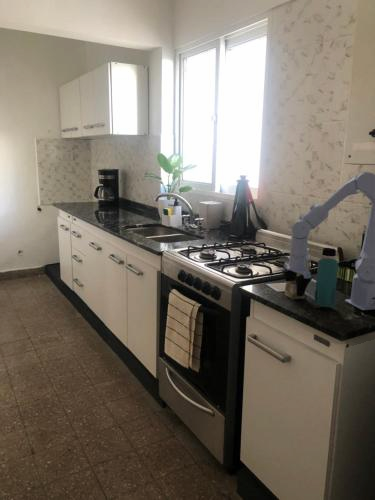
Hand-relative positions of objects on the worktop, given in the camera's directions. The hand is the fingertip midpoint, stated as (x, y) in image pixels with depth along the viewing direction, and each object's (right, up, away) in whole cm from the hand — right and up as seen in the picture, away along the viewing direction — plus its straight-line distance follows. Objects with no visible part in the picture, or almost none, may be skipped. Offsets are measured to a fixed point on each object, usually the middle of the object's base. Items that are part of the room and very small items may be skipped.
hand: (294, 292), depth 148 cm
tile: (-2, +1, +10) cm, 10 cm away
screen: (+6, -2, +1) cm, 6 cm away
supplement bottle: (+8, +3, +22) cm, 23 cm away
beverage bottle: (+7, -4, -11) cm, 13 cm away
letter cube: (0, -2, 0) cm, 2 cm away
